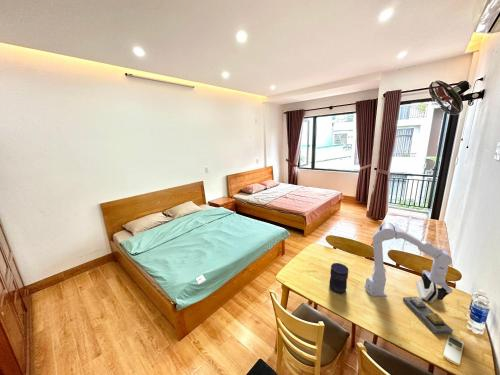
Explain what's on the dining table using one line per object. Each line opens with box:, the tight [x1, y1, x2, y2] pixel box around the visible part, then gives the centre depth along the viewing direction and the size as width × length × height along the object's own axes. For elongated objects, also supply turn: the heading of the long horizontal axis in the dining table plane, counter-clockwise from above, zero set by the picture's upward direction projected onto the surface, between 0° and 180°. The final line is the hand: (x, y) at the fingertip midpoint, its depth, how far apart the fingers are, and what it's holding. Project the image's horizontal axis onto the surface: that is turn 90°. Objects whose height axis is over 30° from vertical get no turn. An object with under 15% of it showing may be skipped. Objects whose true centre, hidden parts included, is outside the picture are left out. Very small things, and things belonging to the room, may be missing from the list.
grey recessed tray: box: [402, 296, 454, 336], centre depth 103 cm, size 8×20×2 cm, turn 2°
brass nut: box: [427, 312, 445, 326], centre depth 98 cm, size 4×4×6 cm
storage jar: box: [328, 262, 349, 295], centre depth 122 cm, size 10×10×15 cm
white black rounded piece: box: [415, 278, 439, 304], centre depth 117 cm, size 17×5×10 cm, turn 149°
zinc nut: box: [411, 296, 426, 309], centre depth 108 cm, size 4×4×6 cm
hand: (432, 293), depth 105 cm, fingers open, 7 cm apart
